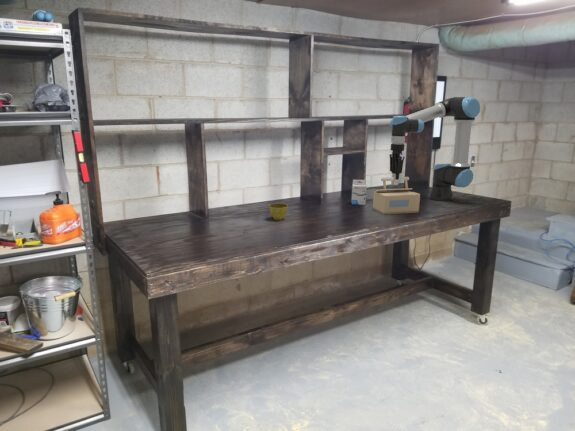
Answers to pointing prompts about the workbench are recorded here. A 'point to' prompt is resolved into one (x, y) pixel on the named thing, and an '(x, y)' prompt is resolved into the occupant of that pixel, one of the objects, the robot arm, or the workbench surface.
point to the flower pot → (278, 211)
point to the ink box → (359, 192)
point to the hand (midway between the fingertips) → (394, 184)
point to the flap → (393, 180)
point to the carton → (396, 202)
